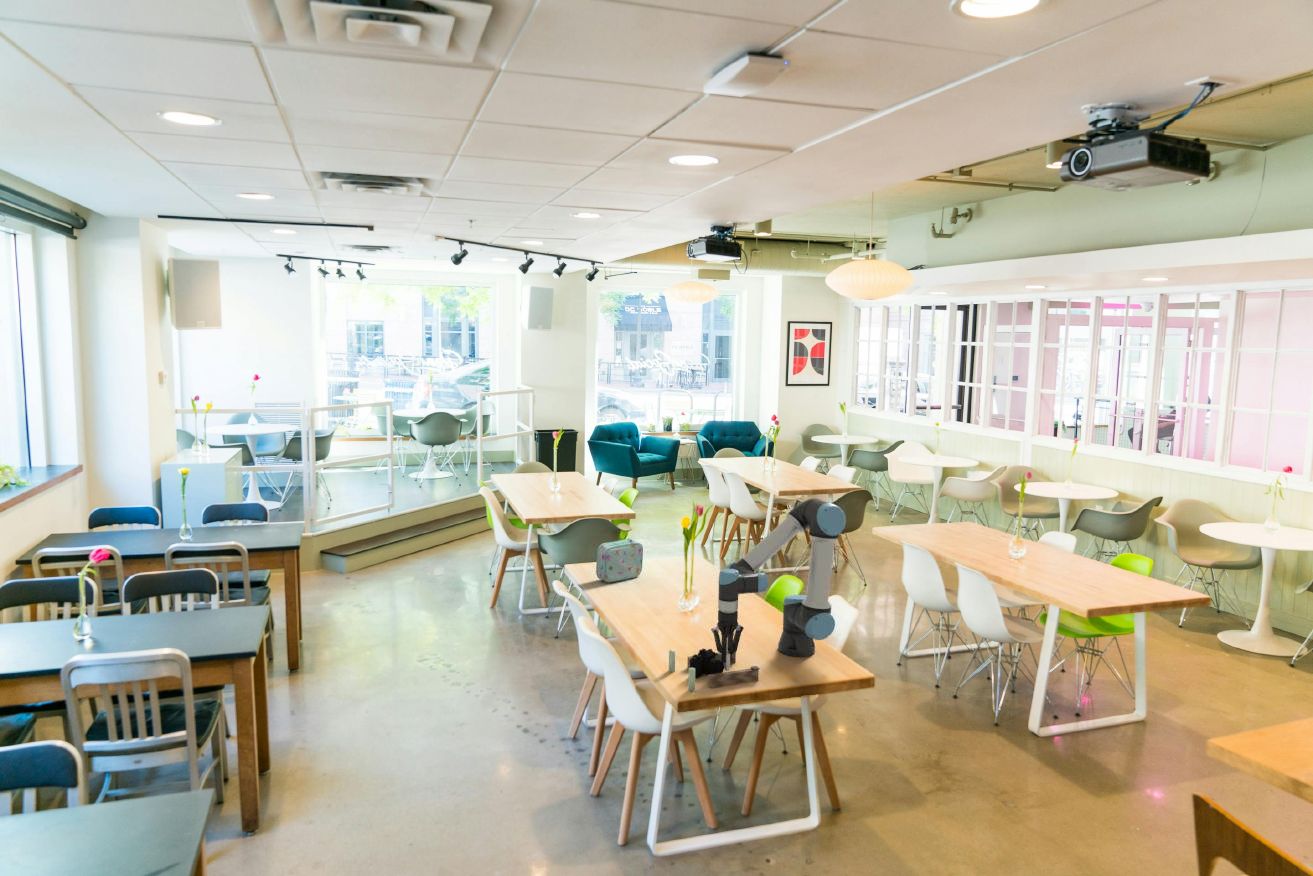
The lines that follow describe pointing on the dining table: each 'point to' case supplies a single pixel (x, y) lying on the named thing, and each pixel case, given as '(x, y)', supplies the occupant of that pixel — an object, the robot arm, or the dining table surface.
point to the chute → (731, 674)
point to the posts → (691, 670)
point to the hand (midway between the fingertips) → (726, 669)
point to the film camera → (706, 663)
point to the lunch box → (619, 560)
